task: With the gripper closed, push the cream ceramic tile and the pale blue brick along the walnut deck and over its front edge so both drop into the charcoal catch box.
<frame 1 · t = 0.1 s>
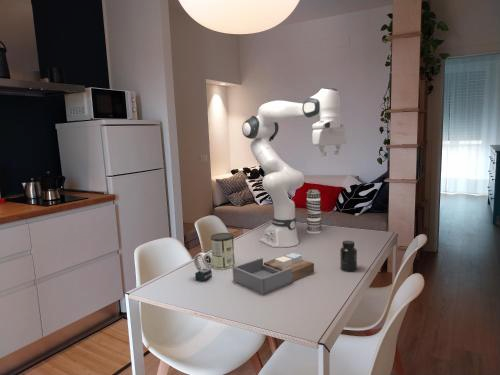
hand: (330, 155, 166), 48 cm above the table, tool pointing down, fingers open, 8 cm apart
supplement bottle: (348, 269, 157), on the table
decorative candle: (314, 231, 217), on the table
coffee can: (223, 265, 168), on the table
cream tile: (283, 264, 154), point 4 cm above the table, touching walnut deck
watch: (204, 279, 153), on the table
pale blue brick: (293, 261, 158), point 4 cm above the table, touching walnut deck
catch box: (262, 281, 147), on the table
walnut deck: (288, 271, 156), on the table
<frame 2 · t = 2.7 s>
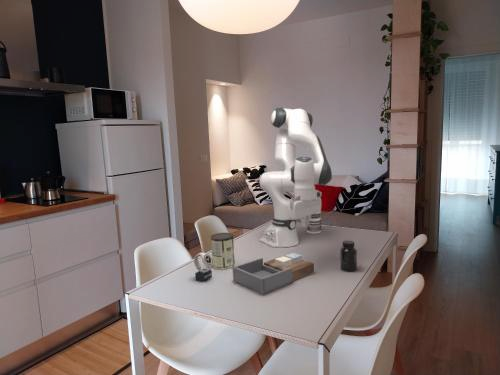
hand: (305, 225, 160), 18 cm above the table, tool pointing down, fingers closed
nothing on the table moved.
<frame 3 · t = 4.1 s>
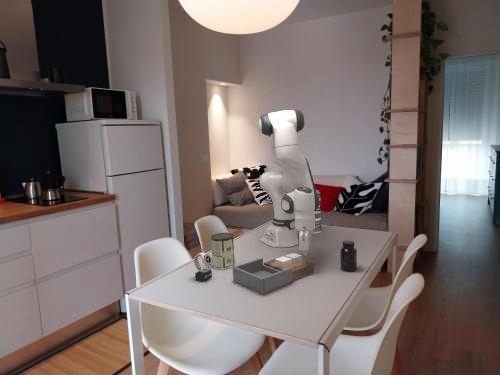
hand: (305, 254, 162), 5 cm above the table, tool pointing down, fingers closed
nothing on the table moved.
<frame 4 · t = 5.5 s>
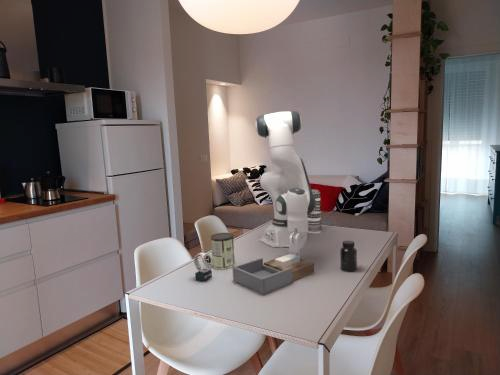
hand: (298, 257, 159), 5 cm above the table, tool pointing down, fingers closed
cream tile: (283, 264, 154), point 4 cm above the table, touching pale blue brick, walnut deck
pale blue brick: (291, 261, 157), point 4 cm above the table, touching cream tile, gripper, walnut deck
everything else where it was.
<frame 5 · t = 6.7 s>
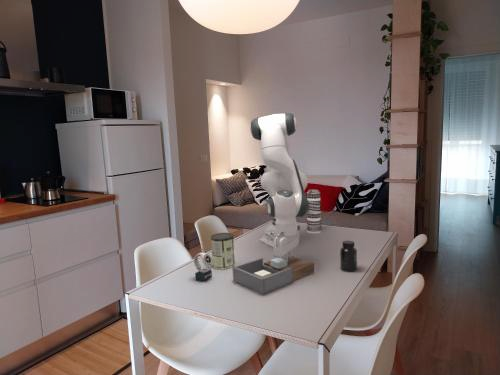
hand: (287, 261, 155), 5 cm above the table, tool pointing down, fingers closed
cream tile: (262, 273, 147), point 3 cm above the table, tilted 180°, touching catch box
pale blue brick: (278, 265, 153), point 4 cm above the table, touching gripper
everything else where it was.
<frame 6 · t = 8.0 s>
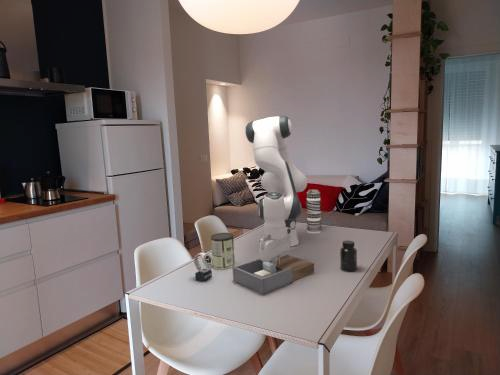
hand: (276, 265, 151), 5 cm above the table, tool pointing down, fingers closed
pale blue brick: (271, 268, 151), point 4 cm above the table, tilted 99°, touching catch box, gripper
everything else where it was.
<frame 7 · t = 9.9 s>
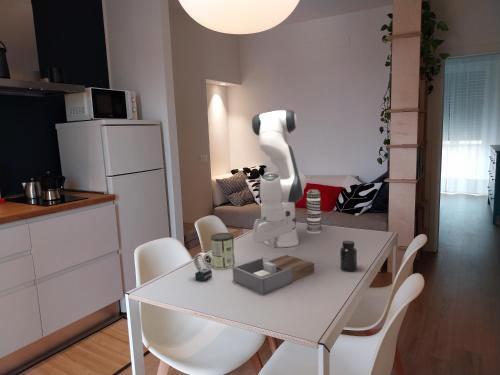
hand: (273, 247, 149), 13 cm above the table, tool pointing down, fingers closed
pale blue brick: (272, 269, 151), point 3 cm above the table, tilted 90°, touching catch box
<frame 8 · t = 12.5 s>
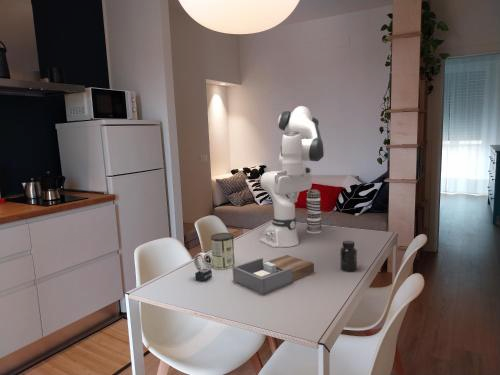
hand: (293, 202, 157), 29 cm above the table, tool pointing down, fingers closed
nothing on the table moved.
at the end: cream tile inside the target area (0.5 cm from its centre), point 3.5 cm above the table; pale blue brick inside the target area (6.3 cm from its centre), point 3.5 cm above the table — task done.
